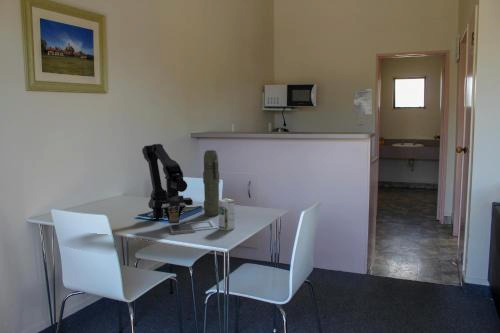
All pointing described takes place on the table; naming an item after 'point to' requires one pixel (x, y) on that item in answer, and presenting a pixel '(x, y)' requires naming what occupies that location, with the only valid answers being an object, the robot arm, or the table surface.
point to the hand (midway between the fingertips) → (173, 219)
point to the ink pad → (181, 228)
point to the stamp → (173, 215)
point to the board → (203, 225)
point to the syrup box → (226, 214)
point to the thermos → (211, 183)
